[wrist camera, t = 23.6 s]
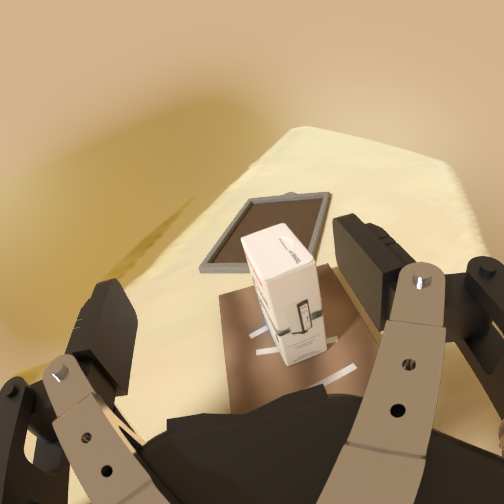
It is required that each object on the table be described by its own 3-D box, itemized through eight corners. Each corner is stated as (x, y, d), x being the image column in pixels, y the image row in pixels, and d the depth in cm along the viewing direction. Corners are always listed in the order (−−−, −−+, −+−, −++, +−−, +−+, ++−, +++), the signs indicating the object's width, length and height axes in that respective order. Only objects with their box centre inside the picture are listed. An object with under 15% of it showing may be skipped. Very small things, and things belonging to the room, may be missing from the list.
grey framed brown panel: (197, 268, 54) (252, 193, 77) (200, 275, 55) (253, 199, 78) (309, 267, 47) (330, 186, 70) (310, 275, 48) (331, 193, 71)
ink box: (262, 318, 38) (236, 235, 32) (300, 303, 39) (282, 219, 33) (286, 369, 31) (260, 280, 25) (330, 350, 32) (317, 258, 26)
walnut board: (245, 479, 23) (239, 473, 22) (223, 305, 46) (218, 295, 45) (413, 426, 23) (417, 416, 22) (329, 274, 46) (327, 262, 45)
